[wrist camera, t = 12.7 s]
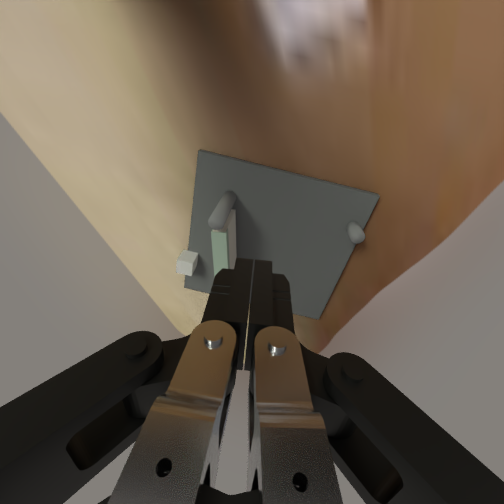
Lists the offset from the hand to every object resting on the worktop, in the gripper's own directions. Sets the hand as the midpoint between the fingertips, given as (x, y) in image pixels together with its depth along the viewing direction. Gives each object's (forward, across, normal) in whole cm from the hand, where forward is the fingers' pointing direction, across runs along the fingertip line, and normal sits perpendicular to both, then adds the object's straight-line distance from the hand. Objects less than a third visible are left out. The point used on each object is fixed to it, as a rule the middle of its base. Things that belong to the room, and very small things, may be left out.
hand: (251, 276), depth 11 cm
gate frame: (+26, -2, +13) cm, 29 cm away
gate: (+25, +3, +15) cm, 29 cm away
